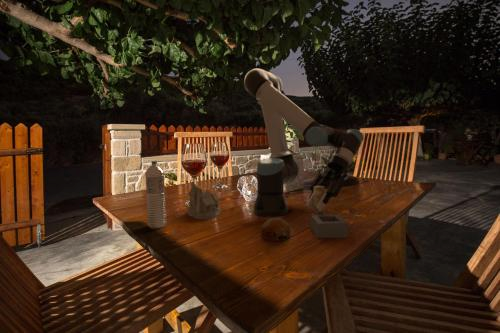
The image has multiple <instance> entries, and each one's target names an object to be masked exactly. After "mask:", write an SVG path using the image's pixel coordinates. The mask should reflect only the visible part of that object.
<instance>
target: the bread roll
mask: <svg viewBox="0 0 500 333" xmlns="http://www.w3.org/2000/svg"><path fill="white" fill-rule="evenodd" d="M260 234H261V237H263V239H264V240H265V241H270V242H283V241H286V240H287V239H288V238H289V237H290V235H291V229H290V225H289V224H288V222H286V221H285V220H284V219H282V218H278V217H274V218H268V219H266V221H265V222H263V224H262V225H261V227H260Z"/></svg>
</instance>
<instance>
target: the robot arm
mask: <svg viewBox="0 0 500 333" xmlns="http://www.w3.org/2000/svg"><path fill="white" fill-rule="evenodd" d="M243 81H244V82H243V84H244V88H245V90H246V92H247V93H249V94H250V95H251V96H252V97H253V98H255V99H256V101H257V104H258V105H259V106H260V107H261V111H262V116H263V120H264V124H265V131H266V136H267V141H268V145H269V151H270V156H269V157H268V158H263V159H261V160H259V161H258V162H257V164H256V165H257V166H256V167H257V168H256V183H257V184H256V185H257V186H256V188H257V191H256V193H257V195H256V198H255V201H254V204H253V213H254V214H255V215H258V216H261V217H281V216H284V215H286V214H288V203H287V201H286V198H285V194H284V193H285V192H284V187H285V186H284V185H286V184H290V183H292V182H294V181H295V180H296V179H297V177H298V176H299V173H300V166H299V163H297V161H296V159H294V155H293V153H292V151H290V150H289V146H288V140H287V136H286V135H287V134H286V130H285V126H284V120H285V122H286V123H287V124H289V125H290V126H291V127H292V128H294V129H295V131H296V132H298V133H299V134H301V136H302V137H304V138H305V140H306V142H307V144H308V145H310V146H311V147H317V148H319V147H322V146H329V147H331V148H335V149H336V150H335V151H334V153H333V155H332V156H331V158H330V160H329V162H328V164H327V167H326V168H324V170H321V169H318V170H317V172H316V176H315V177H314V180H313V181H312V183H311V185H310V186H309V190H310V191H311V193H310V195H309V196H308V200H307V202H306V204H305V206H306V207H307V208H308V209H309V210H311V209H312V208H313V207H314V186H324V187H325V186H326V184H327V183H329V184H328V187H327V191H325V193H324V194H323V196H322V198H321V199H320V201H319V203H318V205H317V206H316V208H317V209H318V211H319V212H321V210H322V209H323V207H324V205H325V206H326V205H327V204H328V203H329V201H330V199H331V198H332V197H333V198H337V196H338V195H339V193H340V192H341V191H342V190H341V189H342V188H343V187H344V185H345V183H346V182H347V181H348V180H350V177H349V176H348V174H347V173H346V172H347V170H348V168H349V166H350V164H351V163H352V161H353V160H354V158H355V156H356V154H357V152H358V151H359V149H360V148H361V146H362V143H363V141H364V138H365V137H364V134H363V133H362V132H361V131H360V130H358V129H356V128H353V129H352V128H350V129H348V130H347V131H343V130H339V129H336V128H334V127H332V126H331V127H330V126H328V125H324V124H320V123H318V122H317V121H316V120H315V119H314V118H313V117H311V116H310V115H308V114H307V113H306V112H305V111H304V110H303V109H302V108H300V107H299V106H298V105H297V104H295V103H294V102H293V101H292V100H290V99H289V98H288V97H287V96H286V95H285V94H283V93H282V91H283V81H282V80H281V78H280V77H279V76H278V75H276V73H274V72H271V71H267V70H265V69H262V68H252V69H251V70H249V71H248V72H247V73H246V74H245V76H244V80H243Z"/></svg>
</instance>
